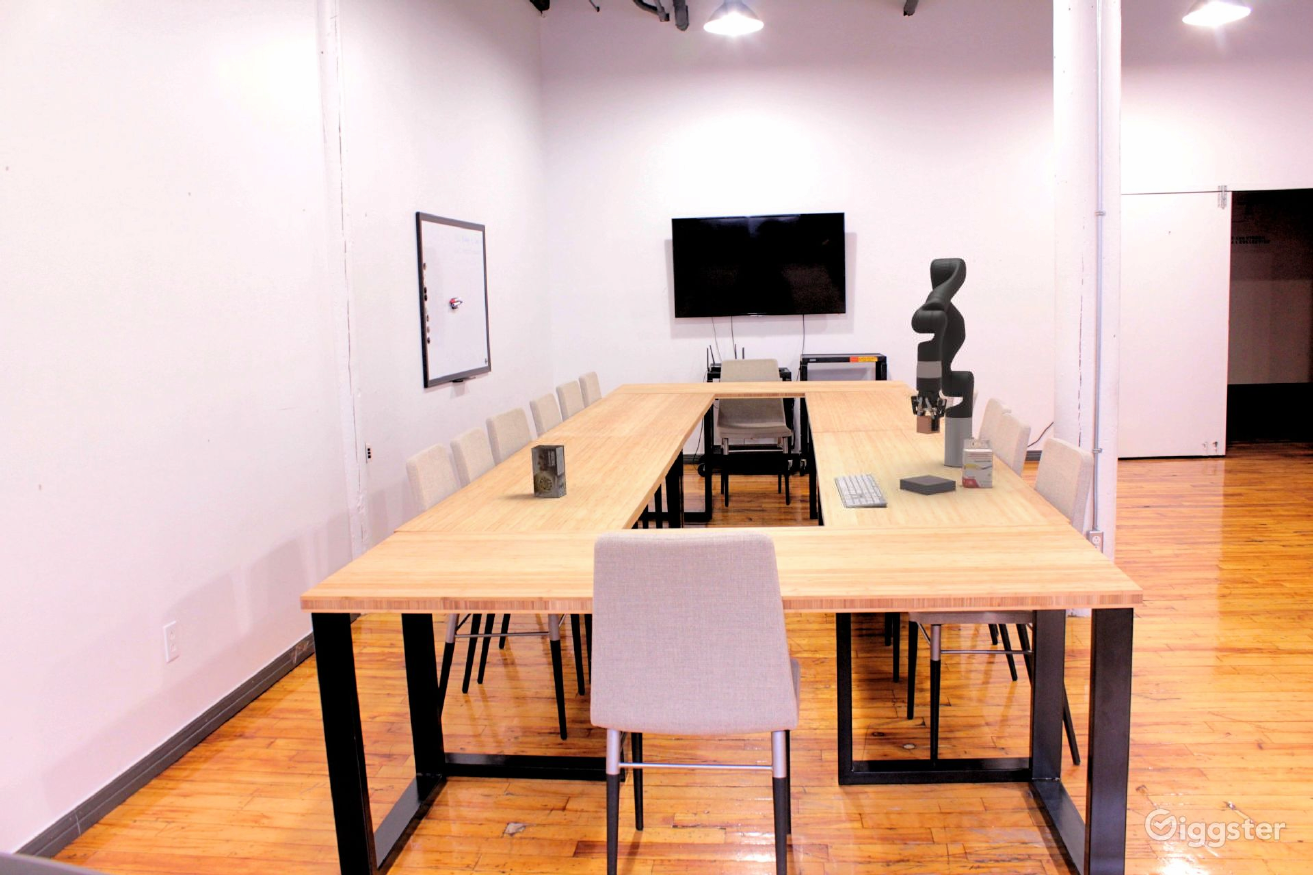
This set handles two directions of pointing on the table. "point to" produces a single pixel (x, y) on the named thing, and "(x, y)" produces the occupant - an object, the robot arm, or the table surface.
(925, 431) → the terracotta cube
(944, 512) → the table surface
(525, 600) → the table surface
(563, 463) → the coffee box
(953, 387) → the robot arm
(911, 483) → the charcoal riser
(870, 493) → the keyboard
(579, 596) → the table surface
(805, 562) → the table surface
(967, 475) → the ink cartridge box
